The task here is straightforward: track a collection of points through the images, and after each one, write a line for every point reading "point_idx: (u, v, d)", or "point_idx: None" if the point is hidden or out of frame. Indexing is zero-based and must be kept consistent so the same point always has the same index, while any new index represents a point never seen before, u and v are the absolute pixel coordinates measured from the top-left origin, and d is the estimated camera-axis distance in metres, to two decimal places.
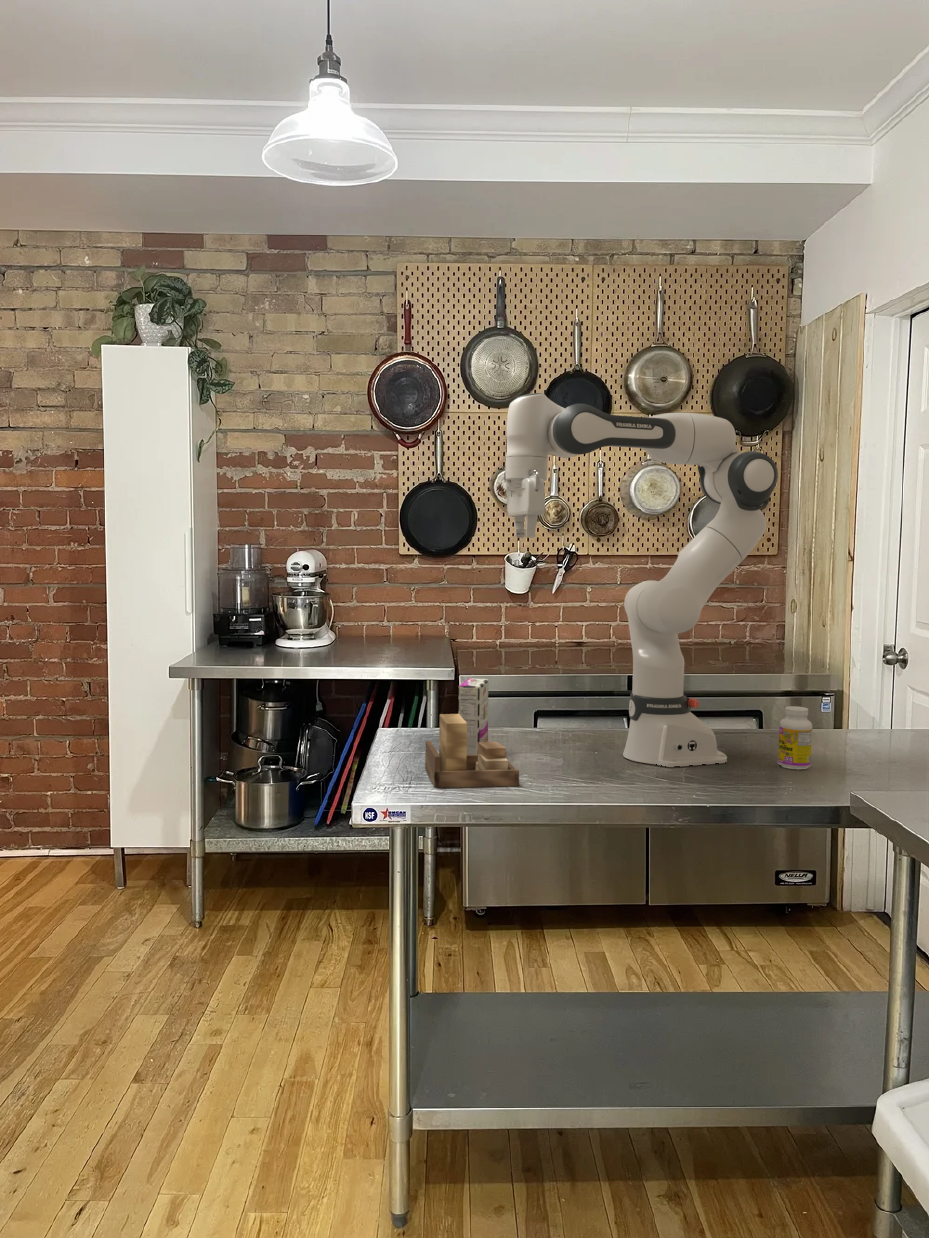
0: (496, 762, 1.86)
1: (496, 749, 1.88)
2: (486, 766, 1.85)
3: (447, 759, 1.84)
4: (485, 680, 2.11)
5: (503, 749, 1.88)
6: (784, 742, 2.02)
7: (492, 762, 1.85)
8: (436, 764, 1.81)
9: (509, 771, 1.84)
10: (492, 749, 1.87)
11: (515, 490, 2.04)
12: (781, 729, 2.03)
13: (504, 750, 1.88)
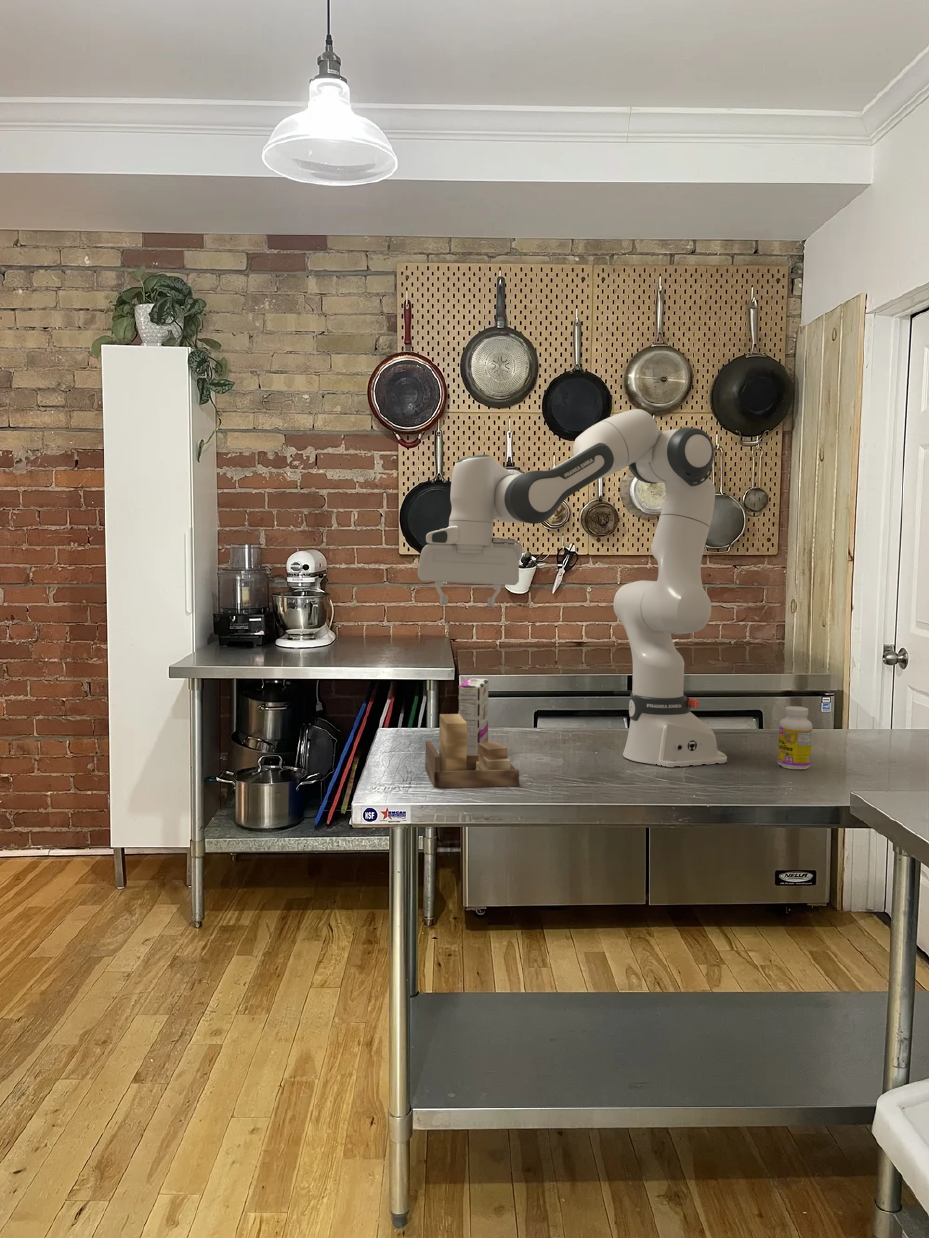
0: (498, 762, 1.86)
1: (498, 749, 1.87)
2: (489, 766, 1.85)
3: (447, 759, 1.84)
4: (485, 680, 2.11)
5: (505, 749, 1.88)
6: (785, 742, 2.02)
7: (494, 762, 1.86)
8: (436, 764, 1.81)
9: (509, 771, 1.84)
10: (494, 750, 1.87)
11: (451, 554, 1.88)
12: (781, 729, 2.03)
13: (506, 750, 1.88)
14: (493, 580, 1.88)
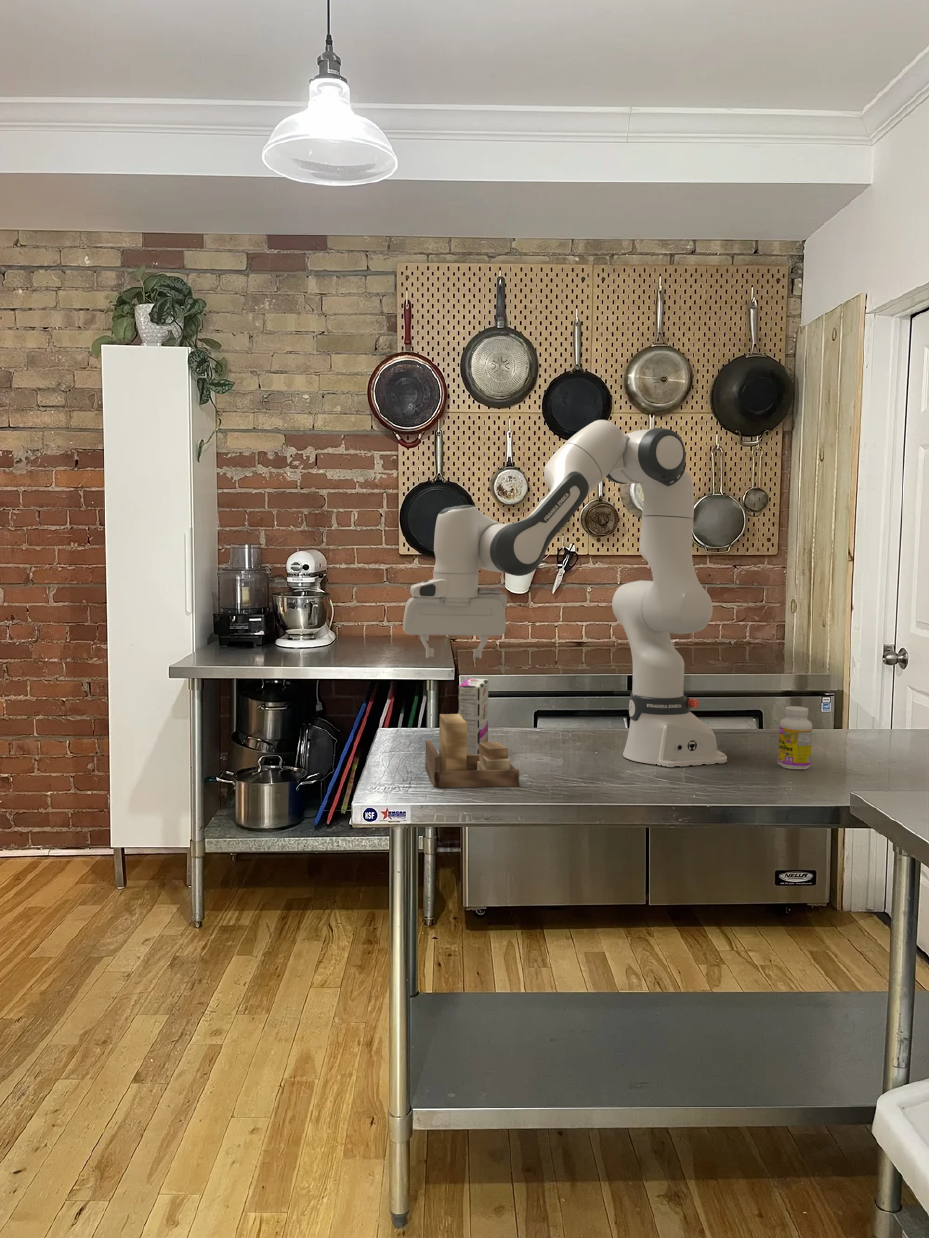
0: (498, 762, 1.86)
1: (498, 749, 1.87)
2: (488, 766, 1.86)
3: (447, 759, 1.84)
4: (485, 680, 2.11)
5: (505, 749, 1.88)
6: (785, 742, 2.02)
7: (494, 762, 1.86)
8: (436, 764, 1.81)
9: (509, 771, 1.84)
10: (494, 750, 1.87)
11: (438, 607, 1.85)
12: (781, 729, 2.03)
13: (506, 750, 1.88)
14: (481, 632, 1.86)
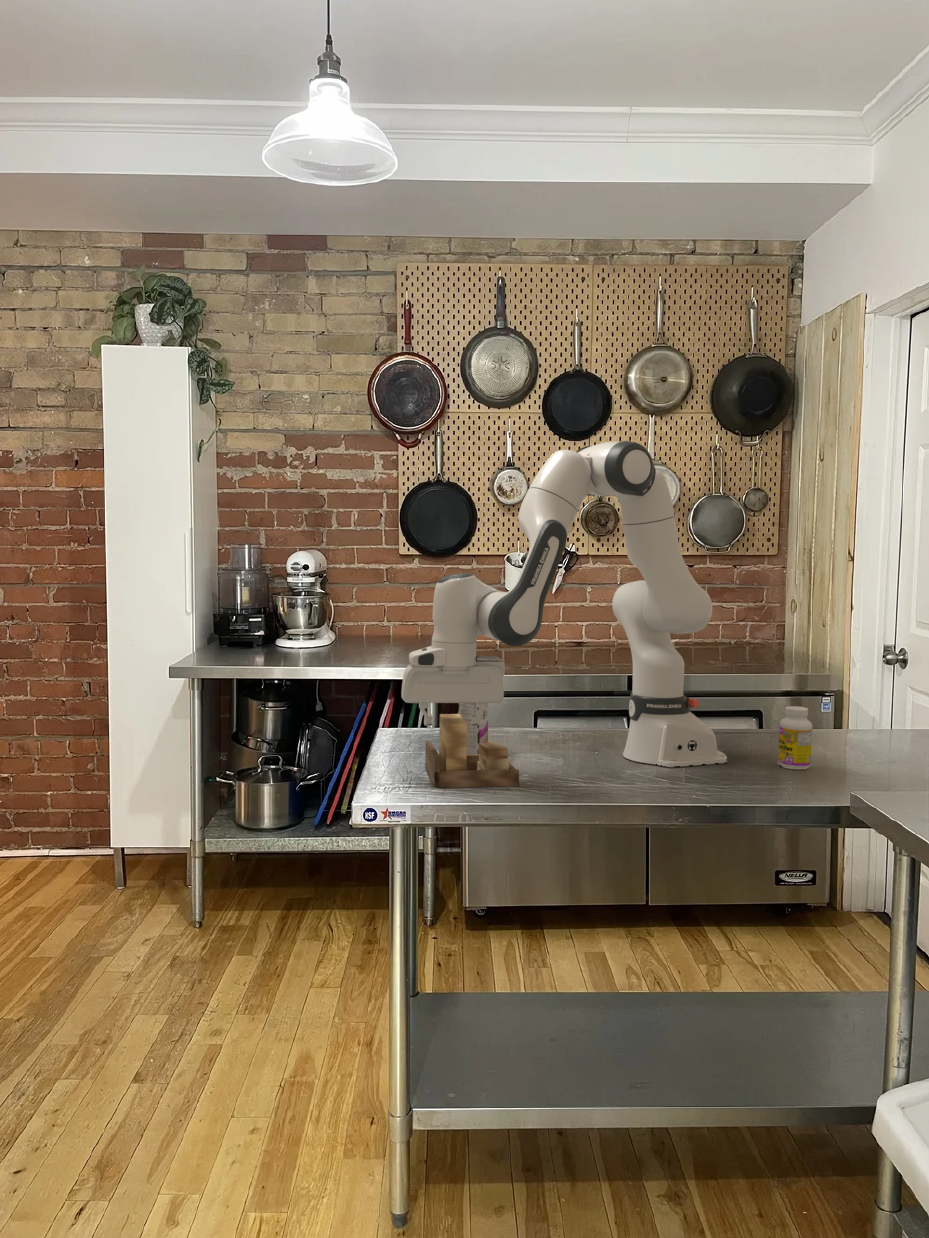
0: (497, 762, 1.86)
1: (498, 749, 1.87)
2: (487, 766, 1.86)
3: (447, 759, 1.84)
4: None
5: (505, 749, 1.88)
6: (785, 742, 2.02)
7: (493, 762, 1.86)
8: (436, 764, 1.81)
9: (509, 771, 1.84)
10: (494, 750, 1.87)
11: (436, 675, 1.85)
12: (781, 729, 2.03)
13: (506, 750, 1.88)
14: (479, 699, 1.87)
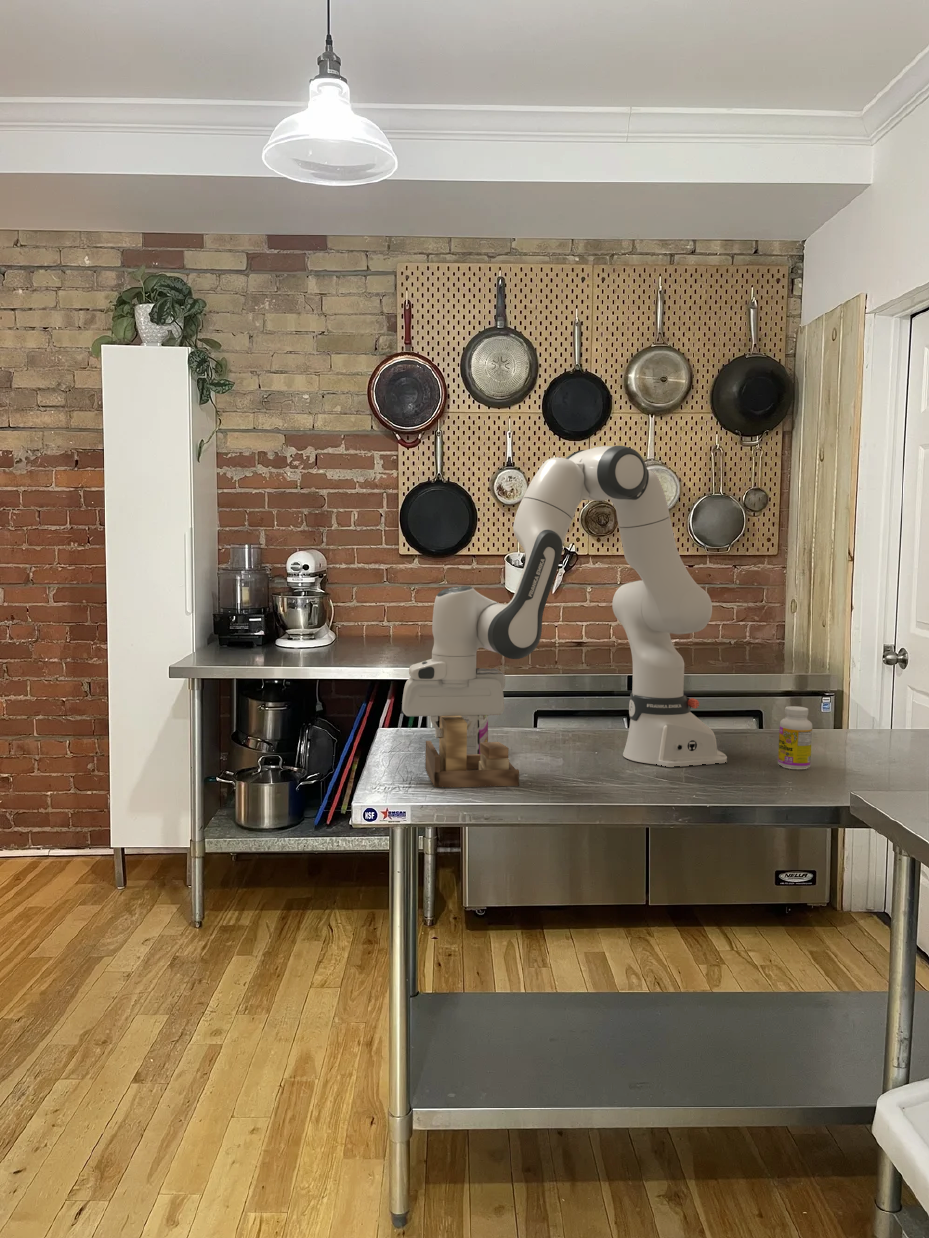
0: (497, 761, 1.86)
1: (499, 749, 1.87)
2: (487, 765, 1.86)
3: (447, 759, 1.84)
4: None
5: (506, 749, 1.88)
6: (785, 742, 2.02)
7: (493, 761, 1.86)
8: (436, 764, 1.81)
9: (509, 771, 1.84)
10: (495, 749, 1.87)
11: (437, 688, 1.86)
12: (781, 729, 2.03)
13: (507, 750, 1.88)
14: (479, 712, 1.87)
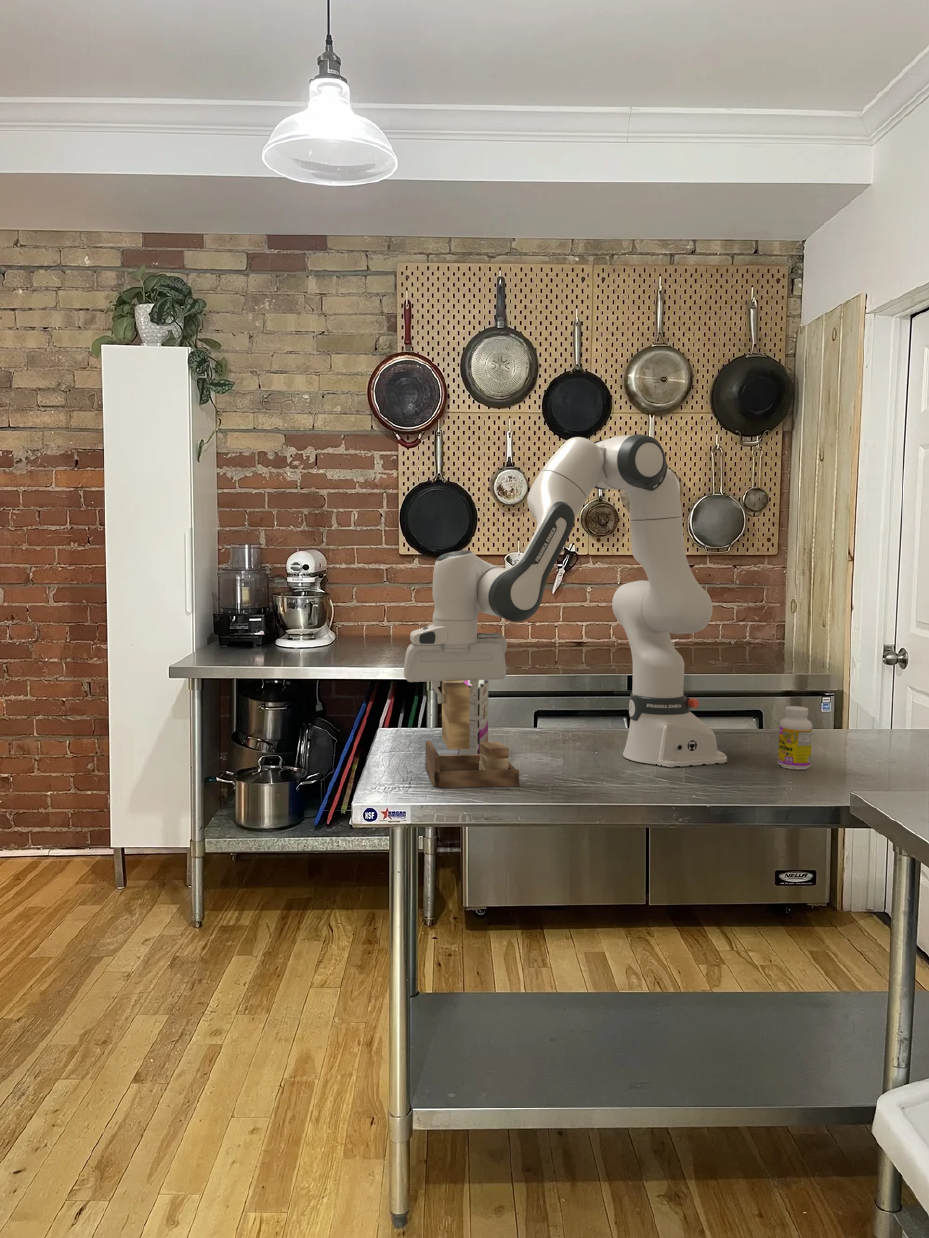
0: (496, 761, 1.87)
1: (499, 749, 1.88)
2: (486, 765, 1.86)
3: (450, 724, 1.83)
4: (485, 680, 2.11)
5: (506, 749, 1.88)
6: (785, 742, 2.02)
7: (492, 761, 1.86)
8: (436, 764, 1.81)
9: (509, 771, 1.84)
10: (495, 749, 1.87)
11: (438, 653, 1.85)
12: (781, 729, 2.03)
13: (507, 749, 1.88)
14: (482, 676, 1.87)
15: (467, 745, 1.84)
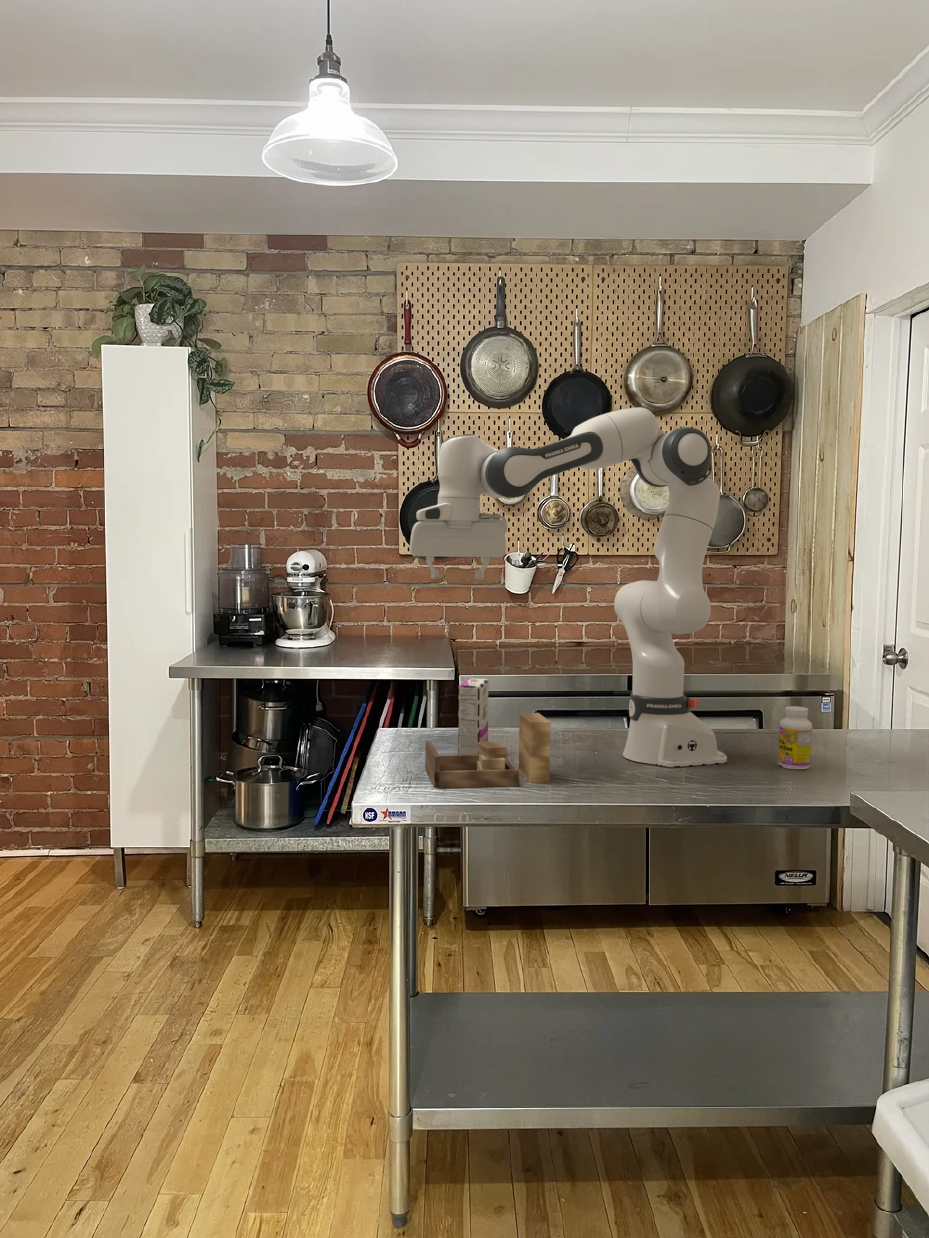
0: (493, 761, 1.87)
1: (497, 748, 1.88)
2: (483, 764, 1.87)
3: (531, 757, 1.86)
4: (485, 680, 2.11)
5: (504, 748, 1.89)
6: (785, 742, 2.02)
7: (489, 760, 1.87)
8: (436, 764, 1.81)
9: (509, 771, 1.84)
10: (494, 749, 1.88)
11: (443, 530, 1.97)
12: (781, 729, 2.03)
13: (505, 749, 1.89)
14: (483, 553, 1.98)
15: (547, 779, 1.87)
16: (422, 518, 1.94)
